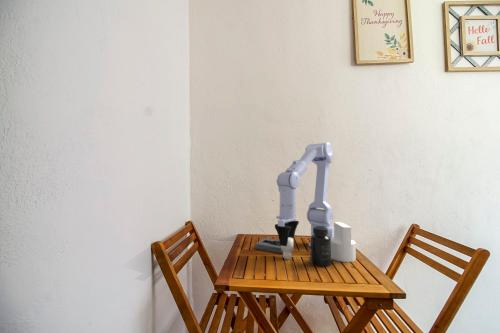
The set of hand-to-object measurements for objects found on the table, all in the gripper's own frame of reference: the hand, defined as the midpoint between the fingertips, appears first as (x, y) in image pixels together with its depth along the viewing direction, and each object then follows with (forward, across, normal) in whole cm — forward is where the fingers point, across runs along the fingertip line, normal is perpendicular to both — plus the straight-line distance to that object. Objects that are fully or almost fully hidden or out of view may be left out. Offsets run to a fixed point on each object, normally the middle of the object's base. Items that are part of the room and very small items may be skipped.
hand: (287, 242), depth 81 cm
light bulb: (+6, 0, 0) cm, 6 cm away
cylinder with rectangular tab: (+6, -12, +18) cm, 22 cm away
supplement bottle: (+6, -2, +12) cm, 13 cm away
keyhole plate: (+6, -9, -8) cm, 13 cm away
